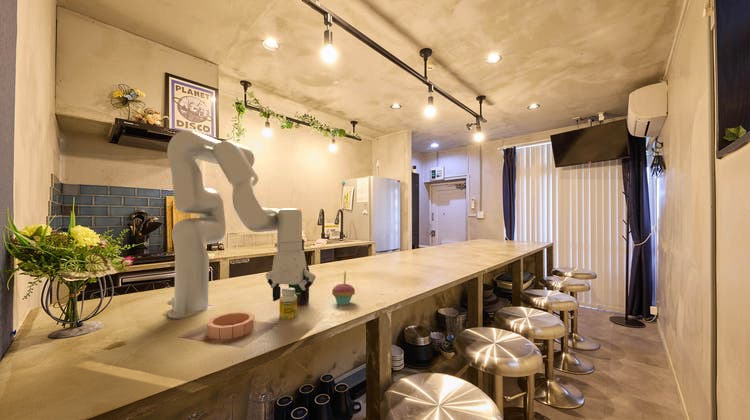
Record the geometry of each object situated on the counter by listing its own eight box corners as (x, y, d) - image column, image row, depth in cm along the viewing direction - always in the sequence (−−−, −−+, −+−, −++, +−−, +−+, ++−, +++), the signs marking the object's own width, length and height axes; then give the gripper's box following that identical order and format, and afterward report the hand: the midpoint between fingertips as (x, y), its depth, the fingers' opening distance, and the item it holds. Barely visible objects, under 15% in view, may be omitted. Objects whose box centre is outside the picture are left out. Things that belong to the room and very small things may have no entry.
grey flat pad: (177, 341, 72) (177, 336, 72) (222, 320, 86) (222, 316, 86) (242, 352, 67) (242, 347, 67) (278, 327, 81) (278, 323, 81)
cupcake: (335, 299, 109) (336, 268, 109) (356, 300, 108) (357, 269, 108) (329, 306, 101) (329, 273, 101) (352, 307, 100) (352, 274, 100)
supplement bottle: (294, 315, 92) (294, 286, 92) (299, 320, 87) (299, 289, 87) (277, 318, 89) (277, 288, 89) (281, 324, 84) (282, 292, 84)
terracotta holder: (196, 336, 73) (197, 324, 73) (229, 320, 84) (230, 310, 84) (233, 341, 70) (233, 329, 70) (262, 324, 81) (262, 314, 81)
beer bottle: (306, 306, 100) (307, 240, 100) (284, 306, 100) (285, 239, 100) (311, 300, 108) (312, 238, 108) (291, 299, 108) (292, 238, 108)
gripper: (258, 247, 87) (258, 302, 86) (308, 249, 82) (309, 306, 82) (273, 245, 94) (273, 295, 94) (320, 246, 90) (320, 299, 89)
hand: (290, 301), depth 88 cm, fingers open, 9 cm apart
